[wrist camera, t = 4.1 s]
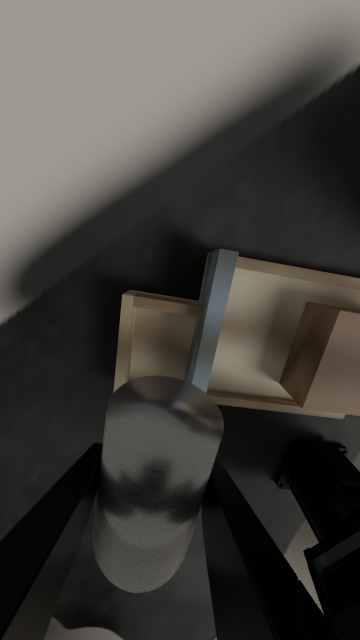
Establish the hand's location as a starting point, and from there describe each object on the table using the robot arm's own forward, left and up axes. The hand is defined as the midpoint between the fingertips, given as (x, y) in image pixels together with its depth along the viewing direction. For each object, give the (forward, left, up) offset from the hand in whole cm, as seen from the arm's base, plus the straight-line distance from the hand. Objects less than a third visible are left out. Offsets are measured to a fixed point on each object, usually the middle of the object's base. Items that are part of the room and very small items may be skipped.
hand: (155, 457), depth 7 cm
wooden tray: (+2, -7, -11) cm, 13 cm away
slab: (+2, -14, -11) cm, 18 cm away
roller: (0, 0, 0) cm, 0 cm away
